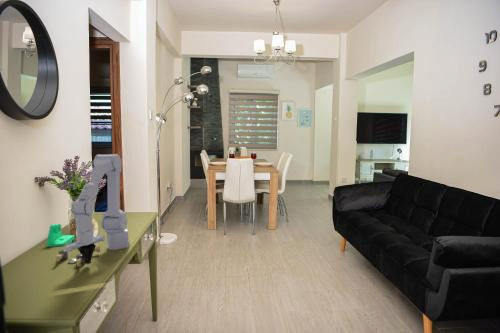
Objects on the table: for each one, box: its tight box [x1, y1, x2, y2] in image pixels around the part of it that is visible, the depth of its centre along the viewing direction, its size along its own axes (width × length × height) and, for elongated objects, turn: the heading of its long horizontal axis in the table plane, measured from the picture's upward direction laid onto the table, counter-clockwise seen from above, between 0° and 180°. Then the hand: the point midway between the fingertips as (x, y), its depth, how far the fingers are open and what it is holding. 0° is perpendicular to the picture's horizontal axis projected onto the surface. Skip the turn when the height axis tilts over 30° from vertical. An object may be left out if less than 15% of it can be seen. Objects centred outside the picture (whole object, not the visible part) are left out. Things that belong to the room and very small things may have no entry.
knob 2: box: [75, 253, 86, 268], centre depth 135 cm, size 8×3×4 cm, turn 20°
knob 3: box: [79, 245, 101, 254], centre depth 145 cm, size 8×3×4 cm, turn 110°
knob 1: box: [55, 248, 69, 263], centre depth 140 cm, size 8×3×4 cm, turn 8°
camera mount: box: [46, 223, 76, 247], centre depth 163 cm, size 12×8×10 cm, turn 2°
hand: (87, 263), depth 134 cm, fingers closed
